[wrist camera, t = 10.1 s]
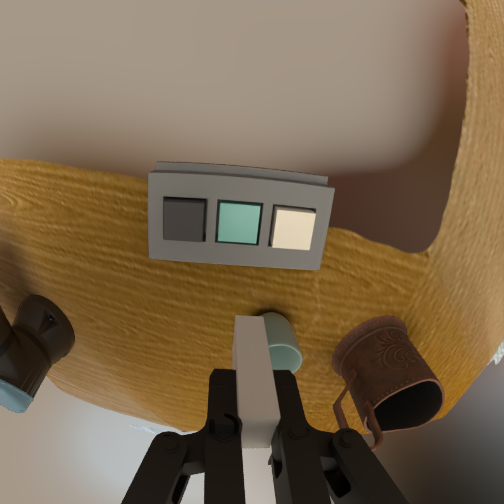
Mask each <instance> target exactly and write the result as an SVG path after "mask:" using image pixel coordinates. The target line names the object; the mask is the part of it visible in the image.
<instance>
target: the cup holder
mask: <svg viewBox="0 0 504 504" xmlns="http://www.w3.org/2000/svg"><path fill="white" fill-rule="evenodd" d="M332 366H333V369H334V371H335V372H336V373H337V374H338V375H340V376H342V377H343V379H344V380H345V382H346V384H347V386H346V387H345V389H344V390H343V392H342V393H341V395H340V396H339V398H338V399H337V400H336V402H335V403H334V405H333V410H334V413H335V416H336V419H337V422H338V425H339V428H340V429H343V428H349V426H348V424H347V421H346V418H345V416H344V413H343V410H342V407H341V400H342V399H343V397H344V395H345V394H346V392H347V391H348V389H349V391H350V394H351V396H352V399H353V401H354V404H355V406H356V409H357V411H358V414H359V416H360V419H361V421H362V424H363V426H364V429H365V430H366V431H367V432H370V433H372V434H373V436H374V438H375V444H374V446H372V447H370V449H371V450H372V452H373V451H374V450H375V449H376V448H378V446H380V445H381V444H382V441H383V435H382V433H384V432H391V431H397V430H406V429H412V428H417V427H420V426H422V425H424V424H426V423H428V422H430V421H431V420H432V419H433V418H434V417H435V416H436V415H437V414H438V413H439V412H440V411H441V409H442V407H443V404H444V401H445V397H444V390H443V388H442V385H441V383H440V382H439V380H438V379H437V377H436V376H435V375H434V373H433V372H432V370H431V369H430V367H429V366H428V365H427V363H426V362H425V360H424V359H423V358H422V356H421V355H420V354H419V352H418V351H417V349H416V348H415V347H414V345H413V344H412V343H411V341H410V340H409V339H408V336H407V328H406V326H405V323H404V322H403V321H402V320H401V319H400V318H397V317H394V316H380V317H376V318H372V319H370V320H368V321H365V322H363V323H361V324H360V325H358V326H357V327H355V328H354V329H352V330H351V331H350V332H349V333H348V334H347V335H346V336H345V337H344V338H343V339H342V340H341V341H340V343H339V344H338V345H337V347H336V349H335V351H334V354H333V357H332Z"/></svg>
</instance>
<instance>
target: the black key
mask: <svg viewBox="0 0 504 504" xmlns="http://www.w3.org/2000/svg"><path fill="white" fill-rule="evenodd" d="M205 208H206V199H200V198H182V197H168V198H167V199H166V200H165V201H164V240H174V241H188V242H202V240H203V237H204V226H205Z"/></svg>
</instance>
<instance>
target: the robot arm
mask: <svg viewBox="0 0 504 504" xmlns="http://www.w3.org/2000/svg"><path fill="white" fill-rule="evenodd" d="M74 342H75V337H74V332H73V329H72V327H71V325H70V323H69V321H68V319H67V318H66V316H65V315H64V314H63V313H62V311H61V310H60V309H59V308H58V307H57V306H56V305H54V304H53V303H52V302H51V301H49V300H48V299H46V298H44V297H41V296H38V295H31V296H28V297H27V298H26V299H25V300H24V301H23V302H22V303H21V305H20V306H19V309H18V313H17V315H16V317H15V320H14V322H13V325H12V326H11V325H10V323H9V321H8V319H7V318H6V316H5V314H4V312H3V310H2V308H1V306H0V405H2V406H3V407H5V408H7V409H8V410H10V411H13V412H15V413H23V412H25V411H26V410H27V408H28V406H29V405H30V403H31V402H32V401H33V398H34V396H35V394H36V392H37V391H38V389H39V387H40V385H41V383H42V382H43V380H44V378H45V376H46V374H47V373H48V371H49V369H50V368H51V366H52V365H53V364H55V363H56V362H57V361H59V360H60V359H61V358H62V357H65V356H66V355H67V354H68V353H69V352H70V350H71V349H72V347H73V345H74ZM232 354H233V370H232V369H214V370H213V372H212V373H211V375H210V378H209V395H208V413H207V420H206V423H205V426H204V427H203V428H202V429H201V430H200V431H198V432H196V433H192V434H187V435H180V434H178V433H175V432H170V431H167V432H162V433H160V434H158V435H156V437H155V438H154V439H153V441H152V443H151V445H150V447H149V449H148V451H147V453H146V455H145V457H144V459H143V461H142V463H141V465H140V467H139V469H138V471H137V473H136V475H135V477H134V479H133V481H132V483H131V485H130V487H129V489H128V491H127V493H126V495H125V497H124V499H123V501H122V503H121V504H180V502H181V500H182V497H183V495H184V492H185V489H186V486H187V484H188V481H189V478H190V476H191V475H193V474H198V473H203V472H205V480H204V504H245V490H244V474H243V460H242V448H269V447H270V445H271V446H272V454H271V456H270V458H269V461H268V465H271V466H272V474H273V482H274V490H275V497H276V504H331V500H330V496H331V498H332V500H333V502H334V503H335V504H409V503H408V501H407V500H406V498H405V497H404V496H403V494H402V493H401V491H400V490H399V489H398V487H397V486H396V484H395V483H394V482H393V480H392V479H391V477H390V476H389V474H388V473H387V472H386V470H385V469H384V467H383V466H382V465H381V463H380V462H379V460H378V459H377V457H376V456H375V455H374V453H373V452H372V450H371V449H370V447H369V446H368V445H367V443H366V442H365V440H364V439H363V437H362V436H361V435H360V434H359V433H358V432H357V431H356V430H354V429H351V428H343V429H340V430H338V431H336V432H335V433H331V432H324V431H320V430H317V429H315V428H313V427H312V426H310V425H309V424H308V422H307V420H306V418H305V414H304V410H303V406H302V402H301V398H300V394H299V390H298V387H297V382H296V378H295V376H294V375H293V374H292V372H291V371H290V370H272V365H271V359H270V353H269V347H268V341H267V336H266V330H265V324H264V318H263V317H260V316H239V315H236V317H235V328H234V340H233V351H232ZM329 495H330V496H329Z"/></svg>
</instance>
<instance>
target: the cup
mask: <svg viewBox="0 0 504 504" xmlns="http://www.w3.org/2000/svg"><path fill="white" fill-rule="evenodd" d="M260 317H263V318H264V324H265V330H266V336H267V341H268V347H269V353H270V359H271V365H272V370H290V371H291V372H292V374H293V373H294V372H295V371H297V370H298V369H299V367H300V366H301V364H302V353H301V349H300V346H299V343H298V339H297V336H296V334H295V331H294V329H293V327H292V325H291V324H290V322H289V321H288V320H287V319H286V318H285V317H284V316H282V315H280V314H278V313H275V312H268V313H264V314H262V315H260Z"/></svg>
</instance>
